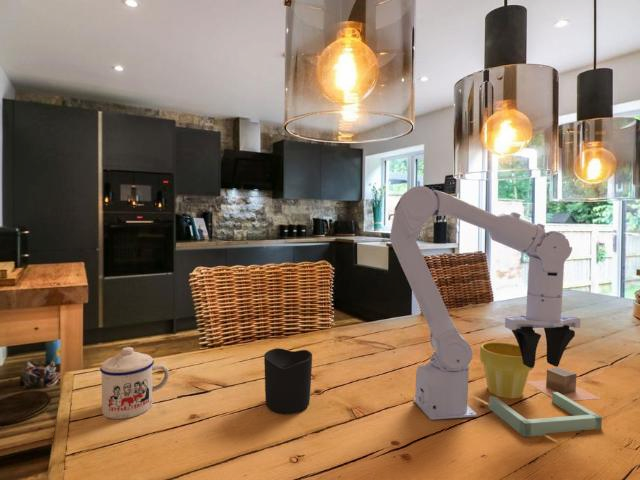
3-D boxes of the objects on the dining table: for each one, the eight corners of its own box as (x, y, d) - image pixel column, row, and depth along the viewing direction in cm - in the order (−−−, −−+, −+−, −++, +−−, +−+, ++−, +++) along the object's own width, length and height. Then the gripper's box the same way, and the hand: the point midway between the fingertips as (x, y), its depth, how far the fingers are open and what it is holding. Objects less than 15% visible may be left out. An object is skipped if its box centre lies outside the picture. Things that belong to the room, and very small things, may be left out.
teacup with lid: (103, 425, 67) (102, 360, 67) (98, 404, 75) (97, 345, 74) (174, 408, 74) (174, 348, 74) (163, 390, 82) (163, 336, 81)
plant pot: (486, 378, 91) (488, 338, 91) (536, 391, 85) (538, 348, 84) (472, 393, 83) (474, 348, 83) (525, 409, 77) (527, 361, 76)
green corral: (524, 437, 67) (525, 423, 66) (488, 408, 77) (489, 396, 76) (601, 430, 69) (601, 417, 69) (556, 403, 79) (557, 392, 79)
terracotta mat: (558, 403, 79) (558, 401, 79) (524, 382, 89) (524, 381, 89) (600, 400, 81) (600, 398, 81) (562, 380, 91) (562, 378, 91)
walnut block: (563, 394, 82) (564, 376, 82) (545, 387, 86) (546, 369, 86) (575, 391, 84) (576, 373, 84) (557, 384, 88) (558, 367, 88)
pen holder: (291, 389, 83) (292, 344, 83) (321, 405, 76) (322, 356, 76) (254, 403, 77) (254, 353, 76) (283, 421, 70) (283, 367, 69)
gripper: (524, 299, 68) (520, 375, 68) (596, 298, 70) (591, 371, 71) (499, 291, 74) (496, 360, 75) (565, 290, 77) (561, 357, 78)
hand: (540, 365), depth 73 cm, fingers open, 5 cm apart
